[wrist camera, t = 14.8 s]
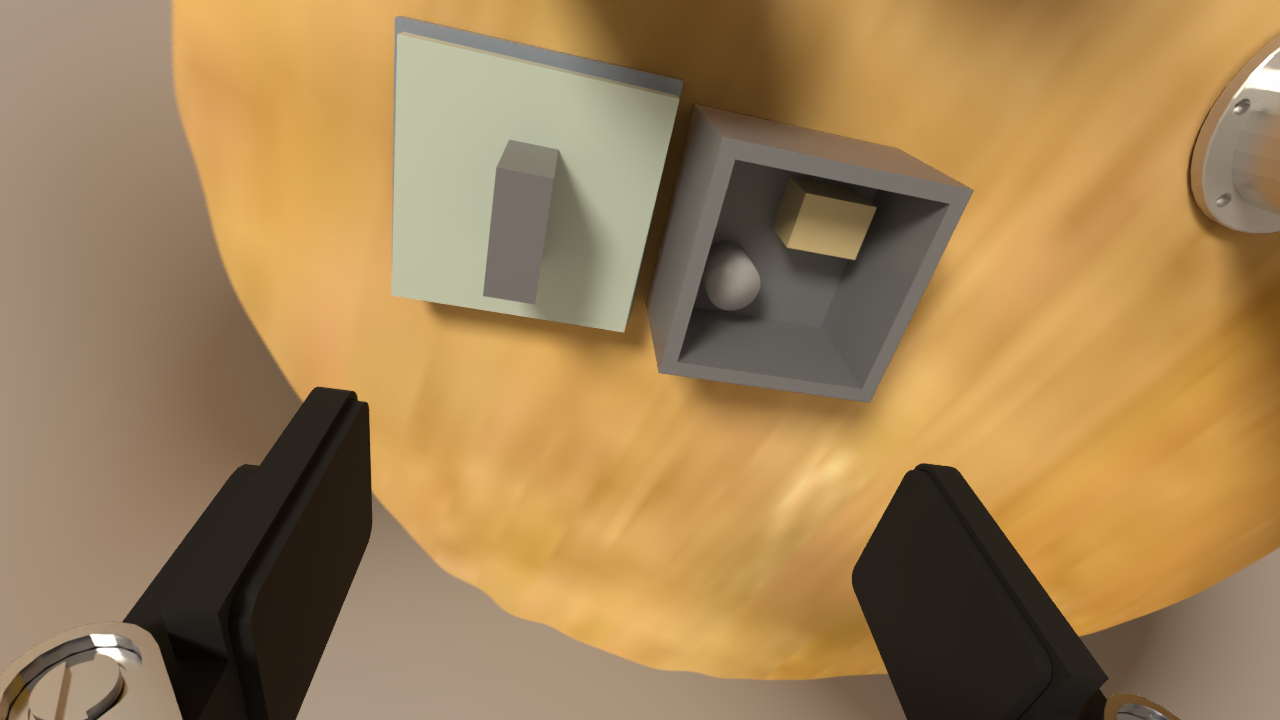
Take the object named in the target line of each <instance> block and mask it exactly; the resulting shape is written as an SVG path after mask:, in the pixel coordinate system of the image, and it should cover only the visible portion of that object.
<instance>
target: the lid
mask: <svg viewBox="0 0 1280 720" xmlns="http://www.w3.org/2000/svg"><path fill="white" fill-rule="evenodd" d="M679 100H680V99H679V97H678V96H677V95H675V94H670V93H666V92H662V91H657V90H653V89H649V88H644V87H640V86H636V85H631V84H627V83H623V82H618V81H614V80H610V79H606V78H601V77H597V76H593V75H588V74H584V73H580V72H575V71H571V70H567V69H562V68H558V67H554V66H549V65H545V64H541V63H536V62H532V61H528V60H524V59H519V58H515V57H511V56H506V55H502V54H498V53H493V52H489V51H485V50H480V49H476V48H472V47H467V46H463V45H459V44H454V43H450V42H446V41H441V40H437V39H433V38H429V37H424V36H420V35H416V34H411V33H407V32H402V33H398V34H397V66H396V112H395V158H394V204H393V250H392V296H397V297H404V298H410V299H416V300H423V301H429V302H435V303H441V304H448V305H454V306H460V307H467V308H473V309H479V310H486V311H492V312H498V313H504V314H511V315H517V316H523V317H530V318H536V319H542V320H548V321H555V322H561V323H567V324H574V325H580V326H586V327H592V328H599V329H605V330H611V331H618V332H624V331H625V327H626V322H627V318H628V314H629V310H630V306H631V301H632V297H633V293H634V289H635V285H636V280H637V276H638V272H639V268H640V264H641V259H642V255H643V251H644V247H645V243H646V238H647V234H648V230H649V226H650V222H651V217H652V213H653V209H654V205H655V201H656V197H657V192H658V188H659V184H660V180H661V176H662V171H663V167H664V163H665V159H666V155H667V150H668V146H669V142H670V138H671V134H672V129H673V125H674V121H675V117H676V113H677V108H678V104H679Z"/></svg>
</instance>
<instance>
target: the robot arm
mask: <svg viewBox="0 0 1280 720" xmlns="http://www.w3.org/2000/svg"><path fill="white" fill-rule="evenodd" d="M1191 188H1192V191H1193V194H1194V197H1195V200H1196V203H1197V204H1198V206H1199V207H1200V209H1201V210H1202V211H1203V213H1204V214H1205V215H1206V216H1207V217H1209V218H1210V219H1212V220H1213V221H1214V222H1216V223H1218V224H1220V225H1223V226H1225V227H1228V228H1230V229H1232V230H1235V231H1240V232H1244V233H1249V234H1269V233H1274V232H1279V231H1280V35H1278V36H1277V37H1276V38H1274V39H1273V40H1272V41H1270V42H1269V43H1268V44H1267V45H1265V46H1264V47H1263V48H1262V49H1261V50H1260V51H1259V52H1258V53H1257V54H1256V55H1255V56H1253V57H1252V58H1251V59H1250V60H1249V61H1248V62H1247V63H1246V64H1245V65H1244V66H1243V68H1242V69H1241V70H1240V71H1239V72H1238V73H1237V74H1236V76H1235V77H1234V78H1233V79H1232V80H1231V81H1230V82H1229V84H1228V85H1227V86H1226V88H1225V89H1224V91H1223V92H1222V94H1221V95H1220V97H1219V98H1218V99H1217V101H1216V102H1215V104H1214V105H1213V107H1212V109H1211V111H1210V113H1209V115H1208V116H1207V118H1206V120H1205V122H1204V124H1203V126H1202V128H1201V131H1200V134H1199V136H1198V139H1197V142H1196V145H1195V148H1194V152H1193V158H1192V164H1191ZM371 529H372V493H371V460H370V427H369V406H368V403H367V402H362V401H358V399H357V395H356V393H355V392H354V391H348V390H340V389H332V388H324V387H316V388H314V389H313V390H312V391H311V393H310V394H309V395H308V397H307V398H306V400H305V401H304V403H303V404H302V406H301V407H300V408H299V410H298V411H297V413H296V414H295V416H294V417H293V418H292V420H291V421H290V423H289V424H288V426H287V427H286V428H285V430H284V431H283V433H282V434H281V436H280V437H279V439H278V440H277V442H276V443H275V444H274V446H273V447H272V449H271V450H270V451H269V453H268V454H267V456H266V457H265V459H264V460H263V462H262V463H261V464H260V466H257V465H248V464H244V465H242V466H241V467H239V468H237V470H236V471H235V472H234V473H233V474H232V475H231V476H230V477H229V479H228V480H227V481H226V483H225V484H224V485H223V487H222V488H221V490H220V491H219V492H218V494H217V495H216V496H215V498H214V499H213V500H212V502H211V503H210V504H209V506H208V507H207V508H206V510H205V511H204V512H203V514H202V515H201V517H200V518H199V519H198V521H197V522H196V523H195V525H194V526H193V527H192V529H191V530H190V531H189V533H188V534H187V535H186V537H185V538H184V539H183V541H182V542H181V544H180V545H179V546H178V548H177V549H176V550H175V552H174V553H173V554H172V556H171V557H170V558H169V560H168V561H167V563H166V564H165V565H164V566H163V568H162V569H161V571H160V572H159V573H158V575H157V576H156V577H155V579H154V580H153V581H152V583H151V584H150V585H149V587H148V588H147V590H146V591H145V592H144V594H143V595H142V596H141V598H140V599H139V600H138V602H137V603H136V604H135V606H134V607H133V608H132V610H131V611H130V612H129V614H128V615H127V617H126V618H125V619H124V620H123V622H122V623H121V622H115V621H113V622H103V623H93V624H88V625H84V626H81V627H77V628H74V629H71V630H68V631H64V632H62V633H60V634H58V635H56V636H54V637H51V638H49V639H47V640H45V641H43V642H41V643H39V644H37V645H35V646H34V647H33V648H31V649H30V650H28V651H27V652H26V653H24V654H23V655H21V656H20V657H19V658H17V659H16V660H15V661H13V662H12V663H11V664H10V665H9V666H8V667H7V668H6V669H5V670H4V671H3V672H2V673H1V674H0V720H296V717H297V715H298V712H299V710H300V708H301V705H302V702H303V700H304V698H305V696H306V693H307V691H308V688H309V686H310V683H311V681H312V678H313V676H314V673H315V671H316V669H317V666H318V664H319V661H320V659H321V657H322V654H323V652H324V649H325V647H326V644H327V642H328V640H329V637H330V635H331V632H332V630H333V627H334V625H335V622H336V620H337V617H338V615H339V613H340V610H341V608H342V605H343V603H344V601H345V598H346V596H347V593H348V591H349V588H350V586H351V583H352V581H353V579H354V576H355V574H356V571H357V569H358V566H359V564H360V562H361V559H362V557H363V554H364V552H365V549H366V547H367V544H368V542H369V538H370V534H371ZM852 585H853V589H854V592H855V594H856V596H857V599H858V601H859V604H860V606H861V609H862V611H863V613H864V616H865V618H866V621H867V623H868V626H869V628H870V630H871V633H872V635H873V638H874V640H875V643H876V645H877V647H878V650H879V652H880V655H881V657H882V660H883V662H884V664H885V667H886V669H887V672H888V674H889V677H890V679H891V681H892V684H893V686H894V688H895V691H896V694H897V696H898V698H899V701H900V703H901V706H902V708H903V710H904V713H905V715H906V718H907V720H1181V719H1179V718H1178V717H1176V716H1175V715H1174V714H1172V713H1171V712H1169V711H1168V710H1166V709H1165V708H1164V707H1162V706H1160V705H1158V704H1156V703H1154V702H1152V701H1150V700H1148V699H1146V698H1144V697H1141V696H1137V695H1134V694H1130V693H1116V694H1115V695H1113V696H1111V697H1110V698H1108V699H1106V698H1105V696H1104V695H1103V694H1102V692H1101V691H1100V689H1099V688H1100V687H1101V686H1102V685H1103V684H1104V683H1105V682H1106V681H1107V680H1108V677H1107V676H1106V674H1105V673H1104V671H1103V670H1102V669H1101V667H1100V666H1099V665H1098V663H1097V662H1096V660H1095V659H1094V658H1093V656H1092V655H1091V653H1090V652H1089V651H1088V649H1087V648H1086V647H1085V645H1084V644H1083V642H1082V641H1081V640H1080V638H1079V637H1078V635H1077V634H1076V633H1075V631H1074V630H1073V628H1072V627H1071V626H1070V624H1069V623H1068V622H1067V620H1066V619H1065V617H1064V616H1063V615H1062V613H1061V612H1060V610H1059V609H1058V608H1057V606H1056V605H1055V604H1054V602H1053V601H1052V599H1051V598H1050V597H1049V595H1048V594H1047V592H1046V591H1045V590H1044V588H1043V587H1042V586H1041V584H1040V583H1039V581H1038V580H1037V579H1036V577H1035V576H1034V574H1033V573H1032V572H1031V570H1030V569H1029V568H1028V566H1027V565H1026V563H1025V562H1024V561H1023V559H1022V558H1021V556H1020V555H1019V554H1018V552H1017V551H1016V550H1015V548H1014V547H1013V545H1012V544H1011V543H1010V541H1009V540H1008V538H1007V537H1006V536H1005V534H1004V533H1003V532H1002V530H1001V529H1000V527H999V526H998V525H997V523H996V522H995V520H994V519H993V518H992V516H991V515H990V514H989V512H988V511H987V509H986V508H985V507H984V505H983V504H982V502H981V501H980V500H979V498H978V497H977V496H976V494H975V493H974V491H973V490H972V489H971V487H970V486H969V484H968V483H967V482H966V480H965V479H964V478H963V476H962V475H961V473H960V472H959V471H958V470H957V469H956V468H953V467H949V466H941V465H933V464H925V463H924V464H919V465H918V466H916V467H915V469H914V470H910V471H908V472H907V473H906V474H905V476H904V478H903V479H902V481H901V483H900V485H899V487H898V489H897V490H896V492H895V494H894V496H893V498H892V499H891V501H890V503H889V505H888V507H887V509H886V510H885V512H884V514H883V516H882V518H881V519H880V521H879V523H878V525H877V527H876V529H875V530H874V532H873V534H872V536H871V538H870V539H869V541H868V543H867V545H866V547H865V549H864V550H863V552H862V554H861V556H860V558H859V559H858V561H857V563H856V565H855V567H854V569H853V573H852Z"/></svg>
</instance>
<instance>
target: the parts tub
mask: <svg viewBox="0 0 1280 720" xmlns="http://www.w3.org/2000/svg"><path fill="white" fill-rule="evenodd" d="M973 191H974V190H973V189H971V188H969V187H967V186H965V185H964V184H962V183H960V182H958V181H956V180H954V179H953V178H951V177H949V176H947V175H945V174H944V173H942V172H940V171H938V170H936V169H934V168H933V167H931V166H929V165H927V164H925V163H924V162H922V161H920V160H918V159H916V158H914V157H913V156H911V155H909V154H907V153H905V152H904V151H902V150H900V149H897V148H893V147H888V146H884V145H879V144H875V143H870V142H866V141H861V140H857V139H852V138H848V137H843V136H838V135H834V134H829V133H825V132H820V131H816V130H811V129H807V128H802V127H798V126H793V125H789V124H784V123H780V122H775V121H771V120H766V119H761V118H757V117H752V116H748V115H743V114H739V113H734V112H730V111H725V110H721V109H716V108H712V107H707V106H703V105H698V104H694V108H693V112H692V116H691V120H690V124H689V128H688V133H687V137H686V141H685V145H684V149H683V153H682V157H681V161H680V165H679V170H678V174H677V178H676V182H675V186H674V190H673V194H672V198H671V203H670V207H669V211H668V215H667V219H666V223H665V227H664V231H663V236H662V240H661V244H660V248H659V252H658V256H657V260H656V264H655V269H654V273H653V277H652V281H651V285H650V289H649V293H648V297H647V302H646V307H647V312H648V318H649V323H650V329H651V334H652V339H653V345H654V350H655V355H656V361H657V366H658V371H659V373H662V374H670V375H677V376H684V377H691V378H698V379H705V380H712V381H719V382H726V383H733V384H740V385H747V386H754V387H761V388H769V389H776V390H783V391H790V392H797V393H804V394H811V395H818V396H825V397H832V398H839V399H846V400H853V401H860V402H868V403H870V402H871V400H872V397H873V395H874V393H875V391H876V389H877V387H878V385H879V383H880V381H881V379H882V377H883V375H884V373H885V371H886V369H887V367H888V365H889V363H890V361H891V359H892V357H893V355H894V353H895V350H896V348H897V346H898V344H899V342H900V340H901V338H902V336H903V334H904V332H905V330H906V328H907V326H908V324H909V322H910V320H911V318H912V316H913V314H914V312H915V310H916V308H917V305H918V303H919V301H920V299H921V297H922V295H923V293H924V291H925V289H926V287H927V285H928V283H929V281H930V279H931V277H932V275H933V273H934V271H935V269H936V267H937V265H938V263H939V260H940V258H941V256H942V254H943V252H944V250H945V248H946V246H947V244H948V242H949V240H950V238H951V236H952V234H953V232H954V230H955V228H956V226H957V224H958V222H959V220H960V218H961V216H962V213H963V211H964V209H965V207H966V205H967V203H968V201H969V199H970V197H971V195H972V193H973Z"/></svg>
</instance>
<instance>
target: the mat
mask: <svg viewBox="0 0 1280 720" xmlns="http://www.w3.org/2000/svg"><path fill="white" fill-rule="evenodd" d="M402 32H407V33H411V34H416V35H420V36H424V37H429V38H433V39H437V40H441V41H446V42H450V43H454V44H459V45H463V46H467V47H472V48H476V49H480V50H485V51H489V52H493V53H498V54H502V55H506V56H511V57H515V58H519V59H524V60H528V61H532V62H536V63H541V64H545V65H549V66H554V67H558V68H562V69H567V70H571V71H575V72H580V73H584V74H588V75H593V76H597V77H601V78H606V79H610V80H614V81H618V82H623V83H627V84H631V85H636V86H640V87H644V88H649V89H653V90H657V91H662V92H666V93H670V94H675V95H677V96H678V97H679V99H680V95H681V91H682V87H683V81H682V80H681V79H676V78H672V77H668V76H663V75H659V74H654V73H650V72H646V71H641V70H637V69H632V68H628V67H624V66H619V65H615V64H610V63H606V62H602V61H597V60H593V59H588V58H584V57H580V56H575V55H571V54H566V53H562V52H557V51H553V50H549V49H544V48H540V47H535V46H531V45H527V44H522V43H518V42H513V41H509V40H505V39H500V38H496V37H491V36H487V35H483V34H478V33H474V32H469V31H465V30H461V29H456V28H452V27H447V26H443V25H439V24H434V23H430V22H425V21H421V20H416V19H412V18H408V17H403V16H398V17H395V64H394V146H393V204H394V158H395V112H396V66H397V34H398V33H402ZM673 126H674V125H673ZM672 130H673V129H672ZM670 139H671V138H670ZM669 143H670V142H669ZM668 147H669V146H668ZM667 152H668V150H667ZM666 156H667V155H666ZM665 160H666V159H665ZM664 165H665V163H664ZM663 169H664V167H663ZM662 173H663V171H662ZM661 178H662V176H661ZM660 182H661V180H660ZM659 186H660V184H659ZM658 191H659V188H658ZM657 195H658V192H657ZM656 199H657V197H656ZM655 204H656V201H655ZM654 208H655V205H654ZM653 213H654V209H653ZM653 213H652V217H653ZM652 217H651V221H652ZM650 226H651V222H650ZM650 226H649V230H650ZM649 230H648V234H649ZM648 234H647V238H646V243H647V239H648ZM646 243H645V247H646ZM645 247H644V251H643V255H642V259H641V264H640V268H639V272H638V276H637V280H636V285H635V289H634V293H633V297H632V301H631V306H630V310H629V314H628V318H627V322H626V323H628V321H629V317H630V312H631V308H632V304H633V299H634V295H635V291H636V286H637V282H638V278H639V273H640V269H641V265H642V260H643V256H644V252H645ZM392 250H393V227H392Z"/></svg>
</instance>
